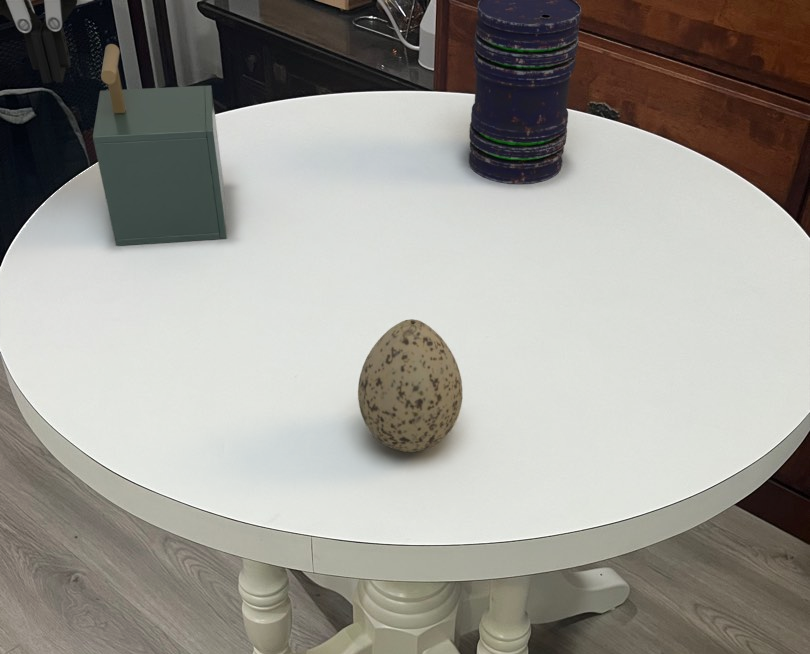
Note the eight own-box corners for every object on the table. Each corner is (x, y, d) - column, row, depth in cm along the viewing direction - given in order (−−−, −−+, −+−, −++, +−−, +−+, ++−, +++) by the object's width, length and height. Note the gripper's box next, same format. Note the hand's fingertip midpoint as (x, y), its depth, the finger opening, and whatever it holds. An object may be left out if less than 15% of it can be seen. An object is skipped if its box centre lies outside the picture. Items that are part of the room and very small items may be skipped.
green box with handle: (115, 246, 90) (80, 80, 80) (121, 195, 97) (89, 36, 87) (226, 238, 91) (205, 74, 81) (224, 189, 98) (204, 31, 88)
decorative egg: (458, 412, 74) (466, 293, 66) (460, 476, 69) (467, 355, 61) (362, 409, 74) (359, 291, 67) (356, 473, 69) (352, 352, 62)
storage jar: (450, 152, 105) (457, -2, 94) (530, 135, 108) (545, -16, 97) (498, 192, 98) (511, 31, 88) (581, 173, 102) (603, 15, 91)
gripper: (100, -201, 74) (145, 55, 88) (-108, -196, 73) (-31, 65, 86) (94, -181, 69) (143, 89, 82) (-130, -175, 68) (-44, 99, 81)
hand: (54, 76), depth 84 cm, fingers closed
